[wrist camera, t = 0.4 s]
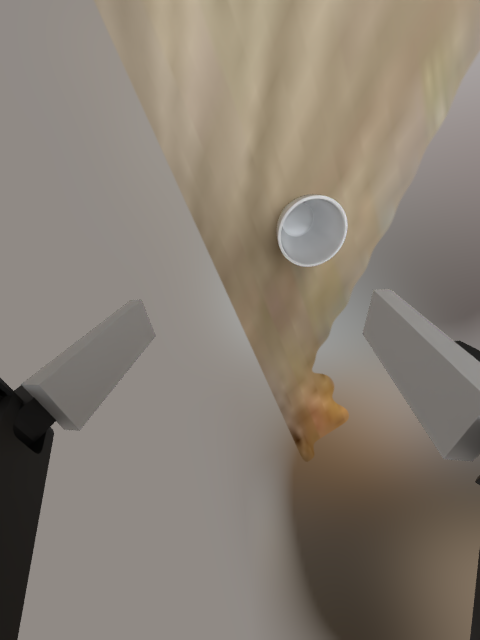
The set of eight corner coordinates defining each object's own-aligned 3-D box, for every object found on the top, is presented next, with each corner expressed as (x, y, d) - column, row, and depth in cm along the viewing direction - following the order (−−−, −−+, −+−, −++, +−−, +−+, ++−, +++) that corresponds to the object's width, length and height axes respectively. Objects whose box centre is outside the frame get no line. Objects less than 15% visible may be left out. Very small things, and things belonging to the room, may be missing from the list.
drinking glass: (287, 186, 31) (299, 180, 18) (327, 205, 31) (365, 213, 19) (267, 230, 34) (265, 252, 22) (303, 247, 35) (321, 278, 22)
